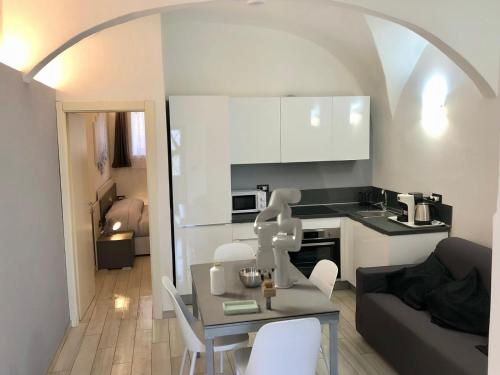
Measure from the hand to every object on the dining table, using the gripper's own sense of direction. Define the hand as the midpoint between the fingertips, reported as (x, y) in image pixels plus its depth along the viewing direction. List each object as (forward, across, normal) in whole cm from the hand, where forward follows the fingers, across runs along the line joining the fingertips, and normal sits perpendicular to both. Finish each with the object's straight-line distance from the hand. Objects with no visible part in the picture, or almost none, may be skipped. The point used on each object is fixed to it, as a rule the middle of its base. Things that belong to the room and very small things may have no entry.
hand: (266, 280), depth 246 cm
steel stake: (+13, 0, +8) cm, 15 cm away
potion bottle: (+14, +25, -22) cm, 36 cm away
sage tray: (+13, +15, +5) cm, 21 cm away
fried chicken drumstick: (+4, 0, +4) cm, 6 cm away
